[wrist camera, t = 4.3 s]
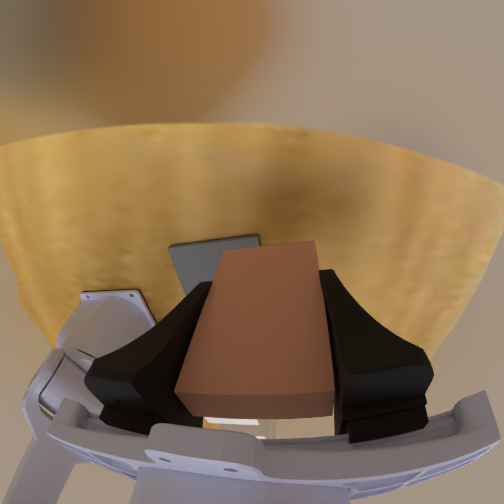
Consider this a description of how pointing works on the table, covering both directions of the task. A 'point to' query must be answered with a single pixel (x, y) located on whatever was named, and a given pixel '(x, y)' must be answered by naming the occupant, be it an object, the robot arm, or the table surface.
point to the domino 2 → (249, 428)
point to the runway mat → (204, 258)
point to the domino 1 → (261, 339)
